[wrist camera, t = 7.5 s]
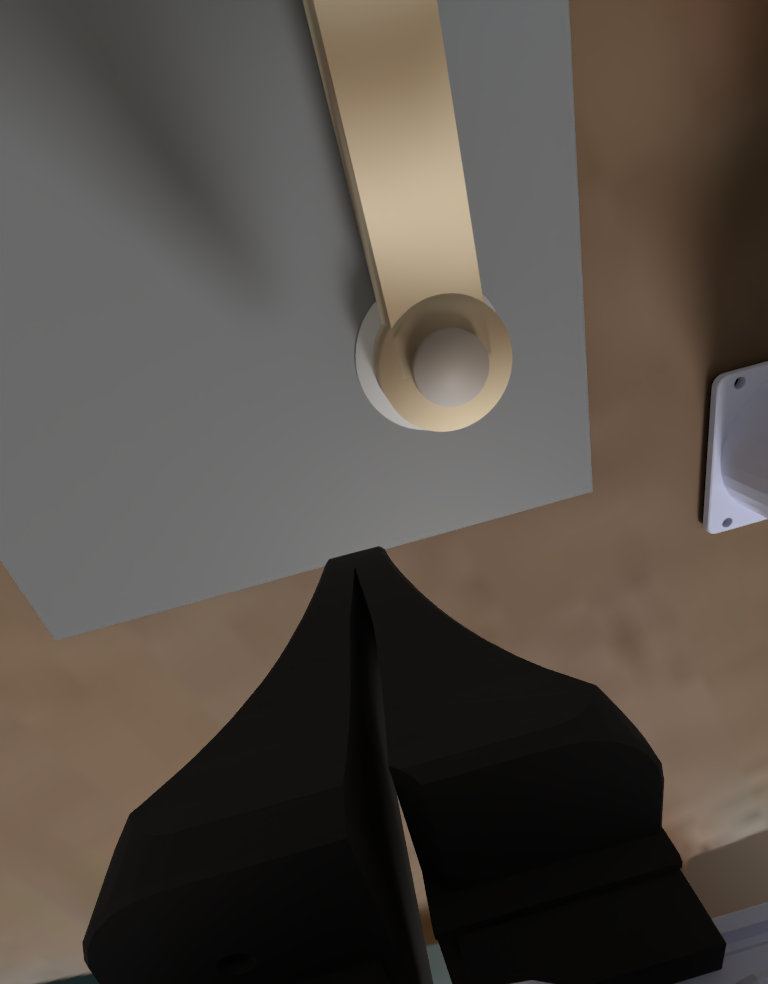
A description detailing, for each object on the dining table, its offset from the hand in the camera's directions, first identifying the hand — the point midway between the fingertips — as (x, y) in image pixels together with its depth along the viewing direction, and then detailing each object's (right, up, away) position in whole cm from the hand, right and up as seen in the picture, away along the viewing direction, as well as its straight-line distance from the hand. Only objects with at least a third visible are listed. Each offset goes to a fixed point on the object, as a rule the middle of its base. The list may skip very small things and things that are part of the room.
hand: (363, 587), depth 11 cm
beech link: (+1, +13, +3) cm, 13 cm away
